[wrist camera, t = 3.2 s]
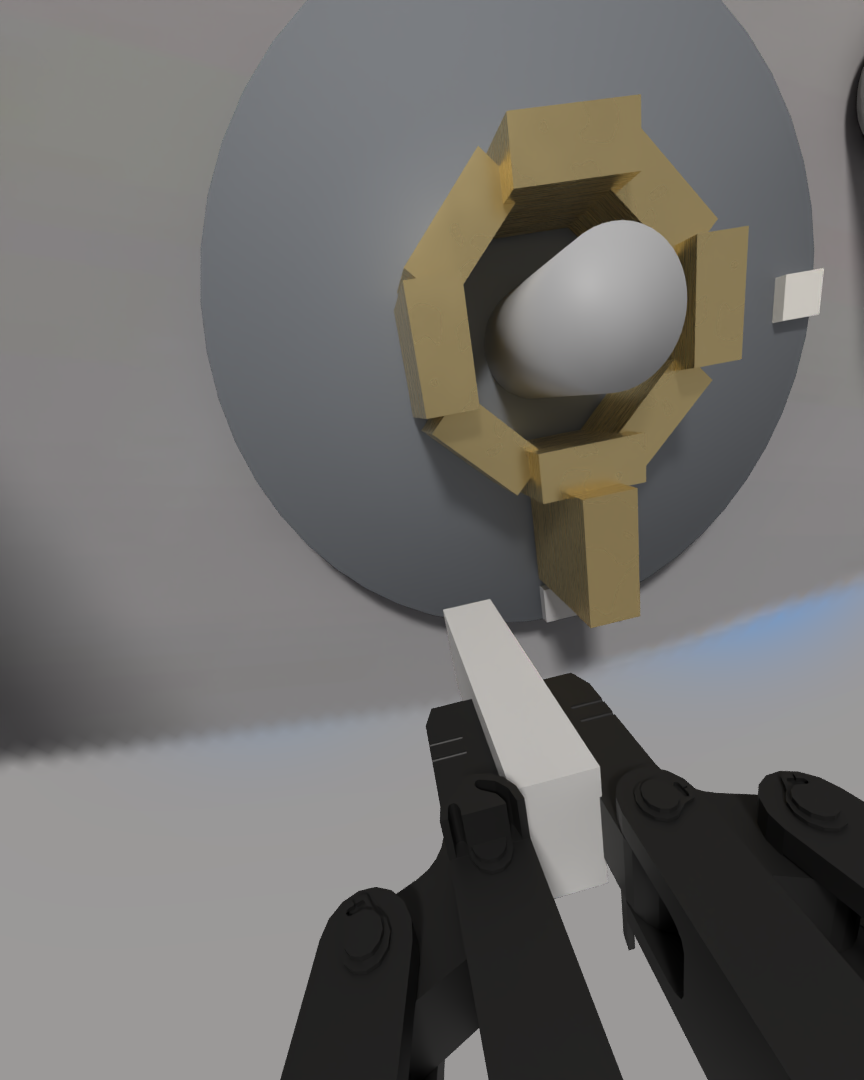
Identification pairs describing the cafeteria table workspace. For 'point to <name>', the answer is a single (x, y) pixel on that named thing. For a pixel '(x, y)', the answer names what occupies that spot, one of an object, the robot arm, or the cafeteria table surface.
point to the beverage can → (861, 102)
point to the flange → (487, 276)
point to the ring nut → (621, 418)
